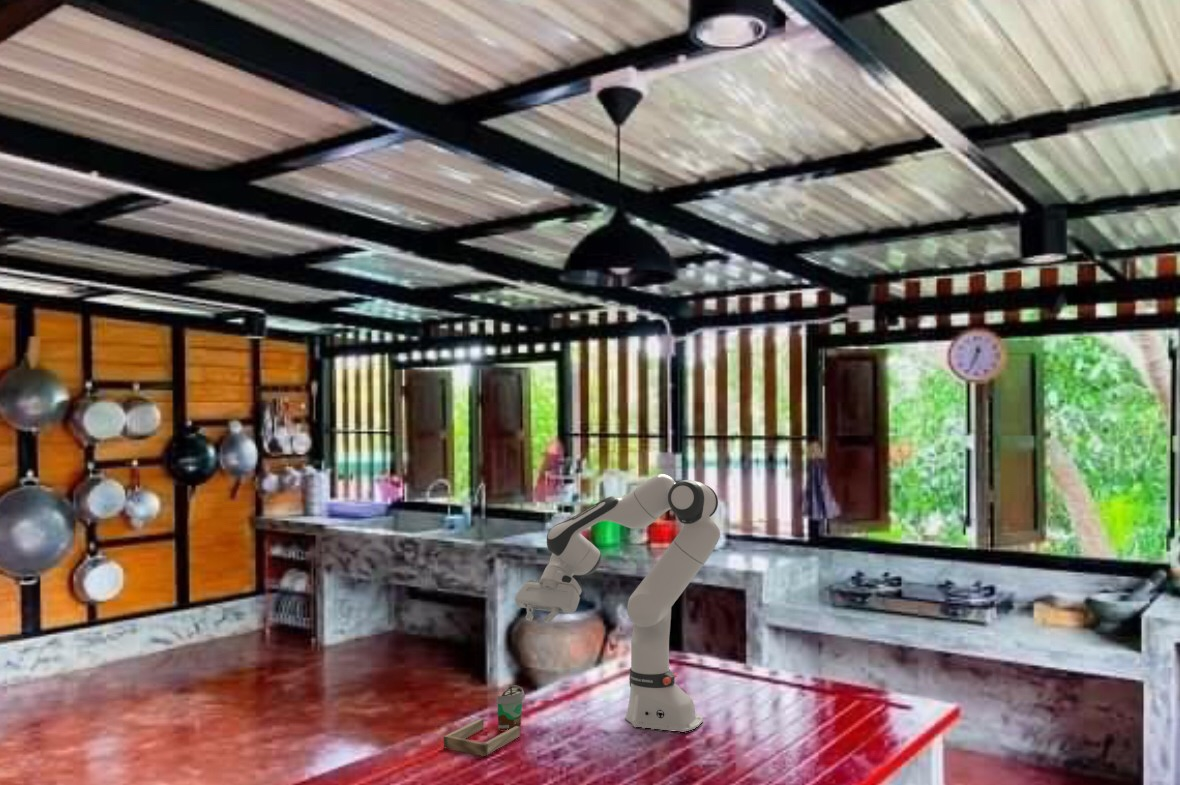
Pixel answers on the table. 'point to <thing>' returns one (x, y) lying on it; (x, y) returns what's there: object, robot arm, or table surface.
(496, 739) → the wooden u-shaped frame
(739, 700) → the table surface
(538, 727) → the table surface
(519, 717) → the food container
